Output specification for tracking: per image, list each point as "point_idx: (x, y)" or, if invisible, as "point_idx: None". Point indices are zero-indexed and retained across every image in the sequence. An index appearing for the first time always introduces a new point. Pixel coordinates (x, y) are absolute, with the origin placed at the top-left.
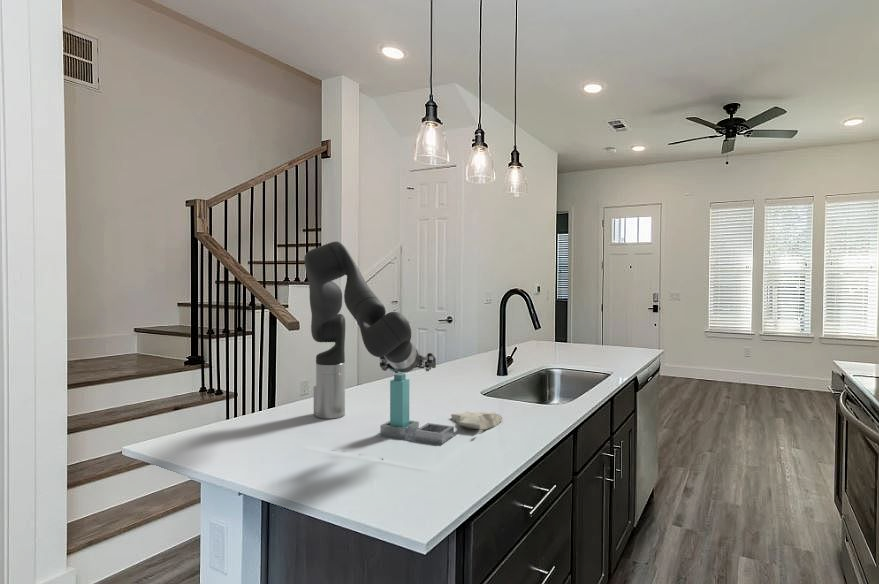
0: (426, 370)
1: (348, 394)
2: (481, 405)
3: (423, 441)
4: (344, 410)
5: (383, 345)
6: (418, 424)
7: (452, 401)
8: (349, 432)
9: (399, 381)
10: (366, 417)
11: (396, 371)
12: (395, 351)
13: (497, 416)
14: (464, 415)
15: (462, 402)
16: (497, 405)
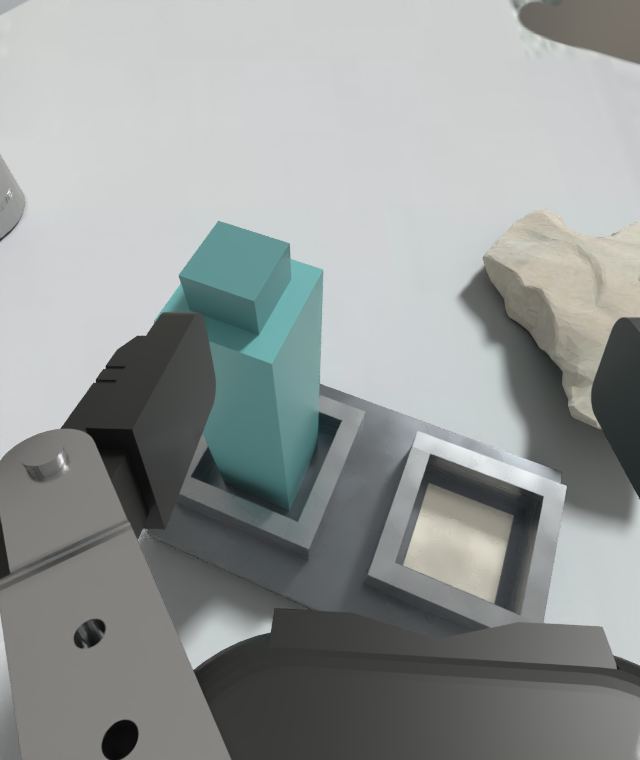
0: (621, 448)
1: (55, 20)
2: (546, 105)
3: (413, 617)
4: (13, 198)
5: None
6: (363, 420)
7: (433, 72)
8: (30, 423)
9: (241, 351)
10: (115, 233)
11: (186, 465)
12: None
13: None
14: (571, 309)
15: (471, 80)
16: (604, 104)
